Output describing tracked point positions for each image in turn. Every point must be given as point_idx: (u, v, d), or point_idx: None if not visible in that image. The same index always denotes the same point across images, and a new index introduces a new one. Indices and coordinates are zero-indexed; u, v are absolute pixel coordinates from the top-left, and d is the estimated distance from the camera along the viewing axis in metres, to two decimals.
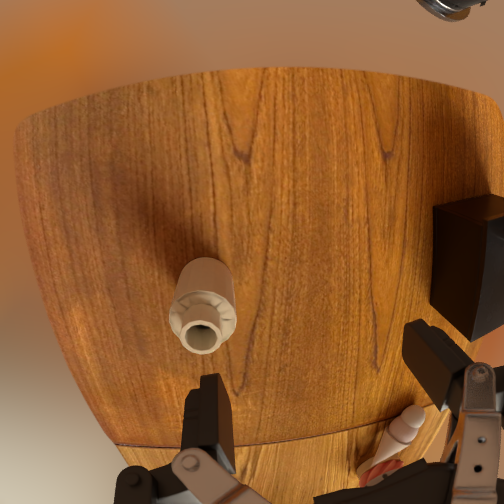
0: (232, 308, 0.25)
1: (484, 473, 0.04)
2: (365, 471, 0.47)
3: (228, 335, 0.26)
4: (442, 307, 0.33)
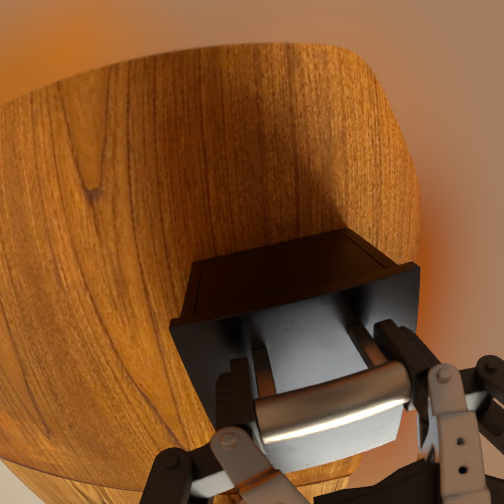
0: None
1: (484, 473, 0.04)
2: None
3: None
4: None
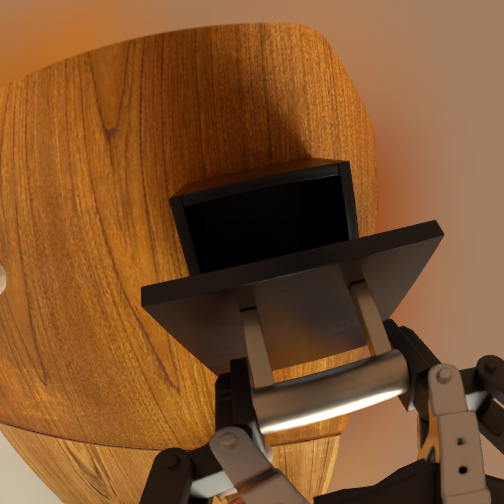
0: None
1: (484, 473, 0.04)
2: (230, 500, 0.41)
3: None
4: None
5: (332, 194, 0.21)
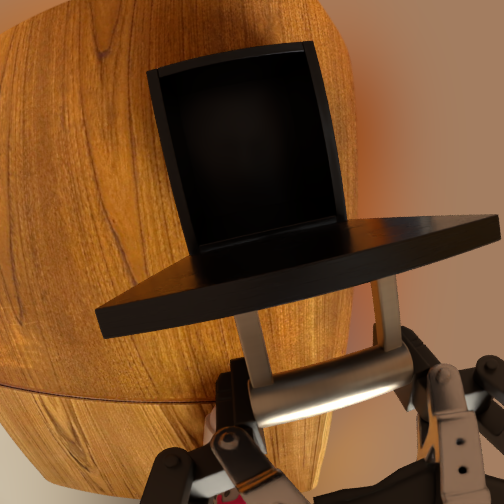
0: None
1: (484, 473, 0.04)
2: None
3: None
4: None
5: (302, 78, 0.20)
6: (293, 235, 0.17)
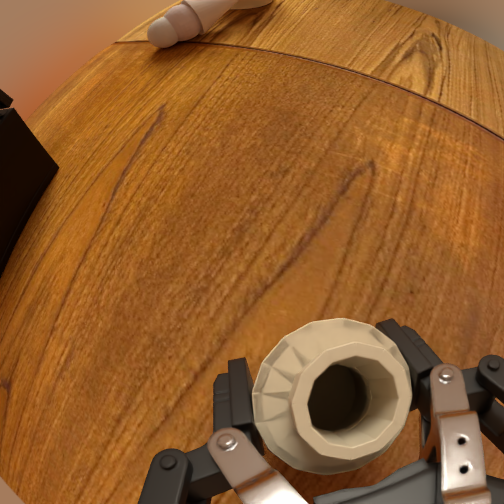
0: (254, 393, 0.09)
1: (484, 473, 0.04)
2: None
3: (304, 330, 0.10)
4: (37, 158, 0.22)
5: None
6: None
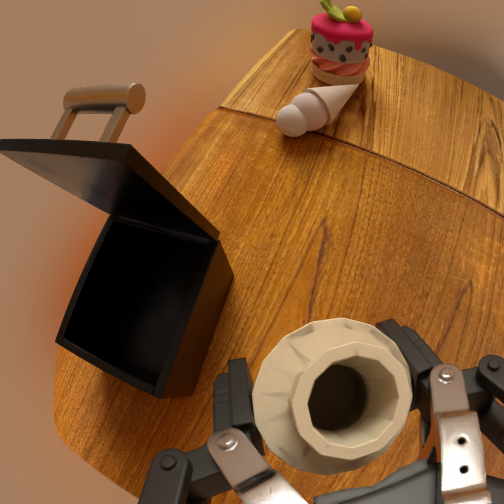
0: (255, 393, 0.09)
1: (484, 473, 0.04)
2: (358, 75, 0.43)
3: (304, 330, 0.10)
4: (226, 276, 0.30)
5: (82, 326, 0.25)
6: (124, 210, 0.22)
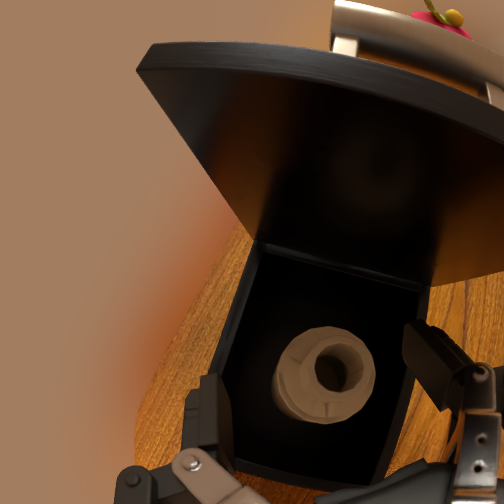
0: (278, 372, 0.16)
1: (484, 473, 0.04)
2: None
3: (306, 334, 0.17)
4: None
5: None
6: (340, 246, 0.14)
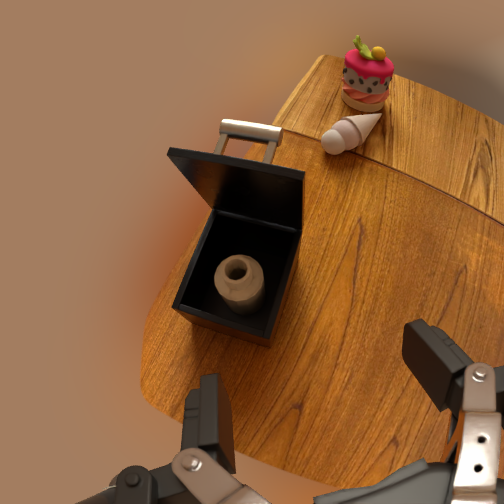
0: (215, 276, 0.36)
1: (484, 473, 0.04)
2: (380, 103, 0.55)
3: (229, 258, 0.36)
4: (297, 257, 0.41)
5: (190, 295, 0.37)
6: (242, 206, 0.34)
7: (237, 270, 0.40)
